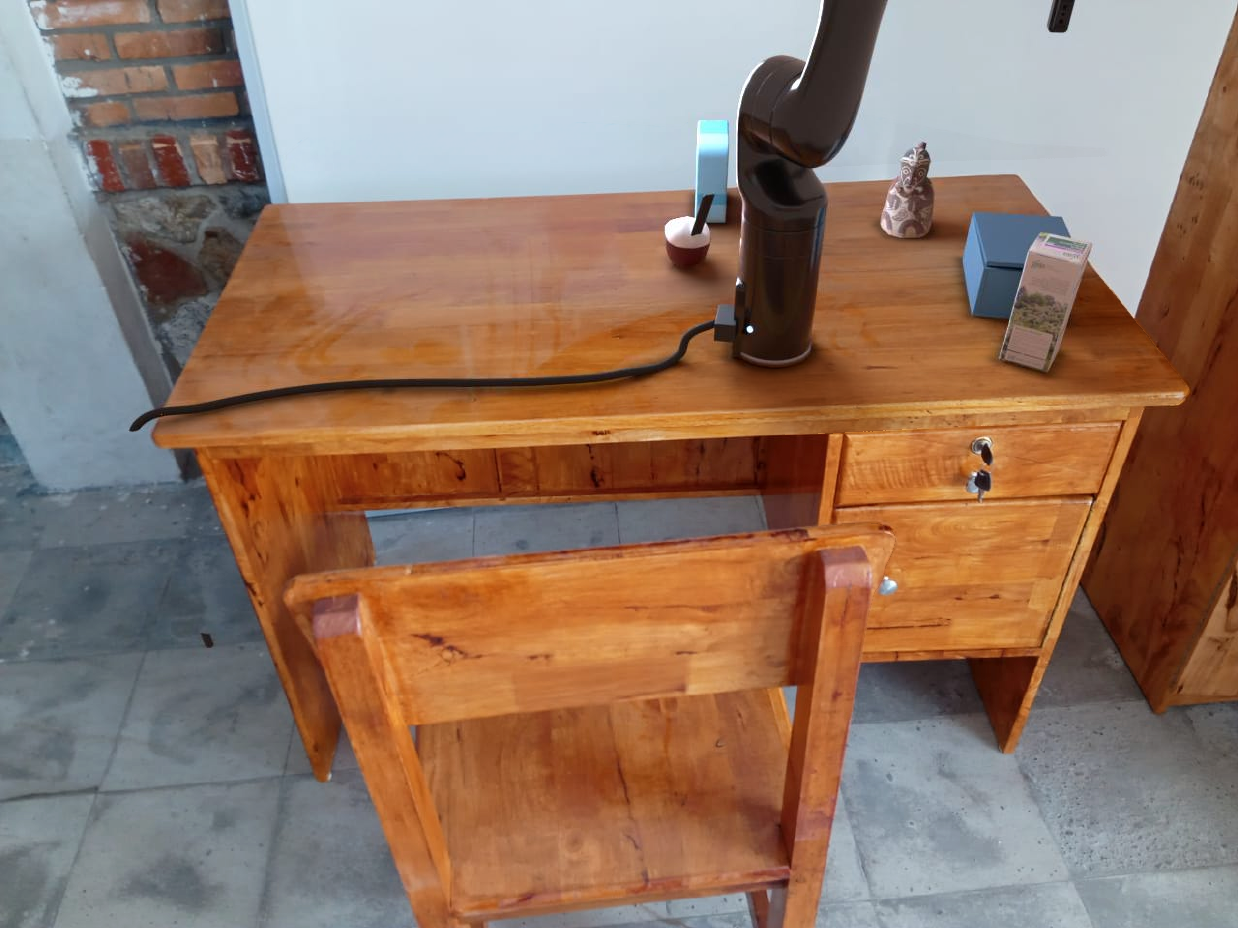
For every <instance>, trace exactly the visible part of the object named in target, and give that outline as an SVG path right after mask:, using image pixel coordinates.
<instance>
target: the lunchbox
mask: <svg viewBox="0 0 1238 928" xmlns="http://www.w3.org/2000/svg"><path fill="white" fill-rule="evenodd" d="M967 233H968V234H967V238H966V243H965V247H964V251H963V255H962V266H963V271H964V277H965V283H966V289H967V295H968V300H969V306H970V312H971V317H979V318H980V317H981V318H993V319H995V318H996V319H1006V320H1007V319H1008V320H1010V317H1011V313H1012V309H1013V306H1014V302H1015V298H1016V295H1017V291H1018V288H1019V284H1020V280H1021V277H1022V273H1023V269H1024V268H1017V267H1003V266H988V265H986V264H985V260H984V256H983V253H982V249H981V245H980V241H979V237H978V234H977V230H976V226H975V222H974V218H973V215H972V216H971V220H970V224H969V229H968V232H967Z"/></svg>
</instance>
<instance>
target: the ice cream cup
mask: <svg viewBox="0 0 1238 928" xmlns="http://www.w3.org/2000/svg"><path fill="white" fill-rule="evenodd" d="M714 196H715V194H708V195H704V196H703V199H702V202H701V205H700V208H699V211H698V214H697V217H696V219H695V217H691V216H684V217H679V218H675V219H672V220H669V222H667V224H666V225H664V233H665V238H664V242H665V243H664V245H665V250H666V254H667V257H668V258H669V260H670V261H671V263H672V264H675V265H677V266H679V267H682V268H692V267H696V266H699V265H700V264H702V263H703V262H704V261H705V260H706V258H707V256H708V253H709V250H710V247H711V241H712V237H711V236H710V234H711V233H710V231H711V230H710V229H709V226H708V223H705V222H706V219H707V216H708V213H709V211H710V208H711V205H712V202H713V199H714Z"/></svg>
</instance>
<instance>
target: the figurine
mask: <svg viewBox="0 0 1238 928" xmlns="http://www.w3.org/2000/svg"><path fill="white" fill-rule="evenodd" d="M931 162H932V160H931V157H930V153H929V151H928V150H927V142H925V141H920V142H918V145H917V146H915V147H914V146H913V147H910V148H909V149H908V150H906V152H904V154H903V156H902V158H900V171H899V175H897V176H896V178H894V179H893V180H892V181H891V184H890V186H889V188H888V191H887V196H886V200H885V203H884V207H883V210H882V213H881V217H880V226H881V229H882V230H883V231H884V232H886V234H888V235H889V236H893V237H897V238H900V239H905V238H907V239H912V238H916V239H917V238H922V237H924V236H925V235H927V234H928V233H929V232H930V229H931V226H932V223H933V217H934V206H935V189H934V184H933V182H932V180H931V178H929V177H928V174H929V171H930V165H931V164H932V163H931Z"/></svg>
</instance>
